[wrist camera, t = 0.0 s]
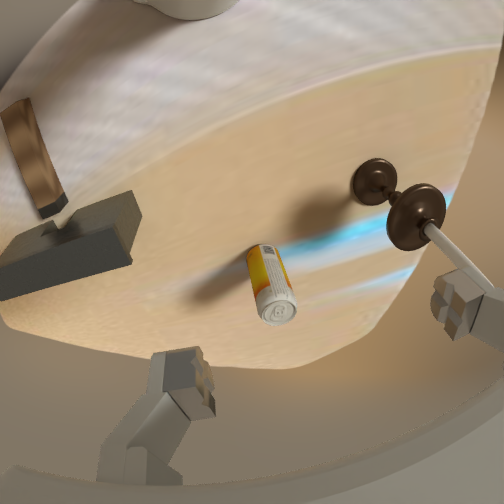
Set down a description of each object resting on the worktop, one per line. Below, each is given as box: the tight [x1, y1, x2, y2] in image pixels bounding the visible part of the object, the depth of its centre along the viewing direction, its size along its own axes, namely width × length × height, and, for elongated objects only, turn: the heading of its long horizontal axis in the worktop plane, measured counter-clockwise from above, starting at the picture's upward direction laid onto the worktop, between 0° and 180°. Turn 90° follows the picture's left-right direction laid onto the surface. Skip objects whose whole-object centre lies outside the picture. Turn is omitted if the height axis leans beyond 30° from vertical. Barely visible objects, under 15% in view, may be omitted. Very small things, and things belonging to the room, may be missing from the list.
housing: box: [0, 190, 142, 301], centre depth 41 cm, size 6×29×13 cm, turn 101°
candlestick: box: [353, 158, 494, 287], centre depth 36 cm, size 11×11×35 cm
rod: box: [0, 98, 69, 219], centre depth 36 cm, size 20×4×4 cm, turn 11°
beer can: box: [247, 244, 297, 326], centre depth 49 cm, size 6×6×15 cm
